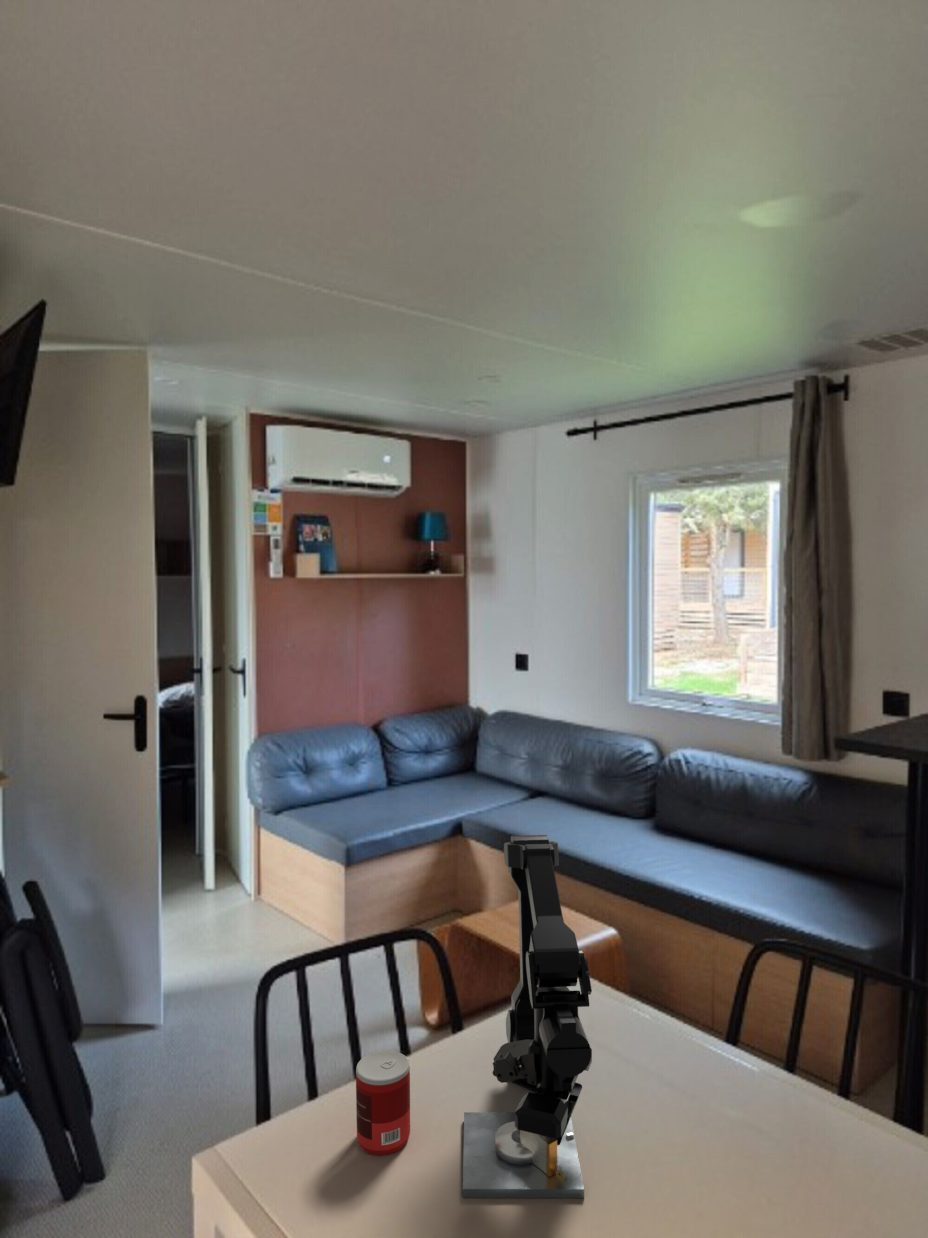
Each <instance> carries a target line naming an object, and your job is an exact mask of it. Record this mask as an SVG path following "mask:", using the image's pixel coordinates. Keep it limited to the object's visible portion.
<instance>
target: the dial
mask: <svg viewBox="0 0 928 1238" xmlns="http://www.w3.org/2000/svg"><path fill="white" fill-rule="evenodd" d="M495 1149H496V1152H497V1154H498V1155H499V1156H500V1157H501V1158H502V1159H503V1160H505V1161H507V1162H509V1163H512V1164H518V1165H525V1164H530V1163H533V1164H535V1165H536V1166H537V1167H538V1168H540V1169H541V1170H542V1171H543V1172H544V1173H546V1175H548V1176H549V1177H550V1176H552V1175H554V1174H555V1173H556V1172H557V1140H556V1139H555V1138H551V1137H546V1136H542V1135H538V1134H534V1133H530V1132H526V1131H522V1130H518V1129H517V1128H516V1127H515V1121H514V1122H509V1123H506V1124H504V1125H502V1126H501V1127H500V1128H499V1129H498V1130H497V1132H496V1134H495Z"/></svg>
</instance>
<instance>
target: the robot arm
mask: <svg viewBox="0 0 928 1238" xmlns="http://www.w3.org/2000/svg"><path fill="white" fill-rule="evenodd" d="M549 839H550V838H549V837H548V835H547V834H538V835H537V834H533V835H532V834H531V835H511V836H510V841H508V842H504V845H503V856H504V857H503V859H504V864H505V865H506V867H507V869H508V873H509V876H510V877H511V879H512V880H513V882H514V884H515V885H516V888H517V894H518V895H517V896H518V898H517V899H518V901H517V902H518V931H519V932H518V934H519V936H518V937H519V969H520V971H519V973H520V974H519V975H520V979H519V982H518V983H517V985H516V987H515V989H514V991H513V992H512V994H511V996H510V997H511V999H510V1001H511V1004H510V1005H511V1009H508V1010H507V1014H506V1017H505V1018H506V1019H505V1030H506V1034H505V1035H506V1039H507V1042H506V1043H504V1044H502V1045H501V1046H500V1047H499V1049H498V1050H497V1052H496V1053H495V1055H494V1057H493V1062H492V1066H493V1070H492V1075H493V1076H494V1077H495V1078H496V1079H497V1081H498V1082H499V1083H510V1082H513V1083H515V1084H518V1085H519V1086H522V1087H524V1088H527V1089H529V1090H531V1091H534V1092H531V1091H528V1092H527V1093H525V1095H523V1096H522V1097H521V1099H520V1101H519V1104H518V1105H517V1107H516V1109H515V1111H514V1112H515V1127H516V1128H517V1129H518V1130H522V1131H526V1132H530V1133H534V1134H538V1135H542V1136H546V1137H551V1138H555V1139H556V1140H557V1145H560V1143H561V1141H562V1138H563V1135H564V1133H565V1130H566V1128H567V1125H568V1123H569V1120H570V1118H571V1119H572V1115H573V1112H574V1109H575V1107H576V1104H577V1102H578V1099H579V1097H580V1095H581V1091H582V1090H583V1085H582V1084H581V1083H578V1082H576V1081H577V1079H578V1077H579V1075H581V1074H582V1073H583V1072H585V1071H587V1072H589V1069H590V1067H591V1065H592V1062H593V1049H592V1048H591V1045H590V1042H589V1040H588V1037H587V1035H586V1032H585V1029H584V1027H583V1024H582V1022H581V1019H580V1017H579V1016H580V1015H579V1008H585V1007H587V1008H588V1007H590V998H589V996H590V995H591V994H592V991H593V990H592V983H591V978H590V972H589V966H588V965H589V964H588V960H587V958H586V957H585V953H584V951H583V950H582V949H579V945H578V942H577V937H576V934H575V932H574V930H572V929H571V928H570V927H569V926H568V925H567V924H566V923H565V921H564V917H563V912H562V907H561V901H560V895H559V890H558V884H557V883H558V882H557V879H556V873H555V867H559V865H560V863H559V843H558V842H556V841H553V840H552V841H550V840H549ZM578 983H579V987H580V988H579V989H580V990H570V989H569V988H570V987H577V984H578Z"/></svg>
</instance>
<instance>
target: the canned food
mask: <svg viewBox="0 0 928 1238" xmlns="http://www.w3.org/2000/svg"><path fill="white" fill-rule="evenodd" d="M410 1066H411V1065H410V1060H409V1059H408V1057H407V1056H406V1055H405V1054H403V1053H400V1052H398V1051H395V1050H381V1051H375V1052H371V1053H370V1054H367V1055H365V1056H363V1057H362V1058H361V1059H360V1060H359V1061H358V1062H357V1065H356V1069H355V1096H356V1097H355V1098H356V1099H355V1100H356V1101H355V1102H356V1104H355V1105H356V1106H355V1107H356V1140H357V1142H358V1144H359V1147H360V1148H361V1150H362V1151H364V1152H366V1153H367V1154H370V1155H373V1156H385V1155H387V1156H388V1155H391V1154H393V1153H396V1152H398V1151H399V1150H401V1149H402V1148H404V1146H405V1145H407V1143H408V1140H409V1137H410V1134H411V1072H410V1070H411V1069H410V1068H411V1067H410Z"/></svg>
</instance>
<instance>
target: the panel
mask: <svg viewBox="0 0 928 1238" xmlns="http://www.w3.org/2000/svg"><path fill="white" fill-rule="evenodd" d="M514 1121H515V1111H514V1112H513V1111H512V1112H510V1111H509V1112H507V1111H506V1112H502V1111H501V1112H496V1111H495V1112H494V1111H493V1112H490V1111H489V1112H488V1111H487V1112H485V1111H484V1112H477V1111H476V1112H473V1111H472V1112H469V1111H468V1112H464V1111H463V1150H462V1151H463V1153H462V1154H463V1155H462V1157H463V1160H462V1198H463V1199H585V1185H584V1181H583V1175H582V1171H581V1170H582V1169H581V1166H580V1165H581V1164H580V1160H579V1155H578V1148H577V1144H576V1139H575V1138H576V1137H575V1131H574V1126H573V1122H572V1117H571V1118H570V1120H569V1123H568V1125H567V1128H566V1130H565V1133H564V1135H563V1138H562V1141H561V1143H560V1145H557V1172H556V1173H555V1174H554V1175H552V1176H550V1177H549V1176H548V1175H546V1173H544V1172H543V1171H542V1170H541V1169H540V1168H538V1167H537V1166H536V1165H535V1164H533V1163H530V1164H525V1165H518V1164H512V1163H509V1162H507V1161H505V1160H503V1159H502V1158H501V1157H500V1156H499V1155H498V1154H497V1152H496V1149H495V1134H496V1132H497V1130H498V1129H499V1128H500V1127H501V1126H502V1125H504V1124H506V1123H509V1122H514Z"/></svg>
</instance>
